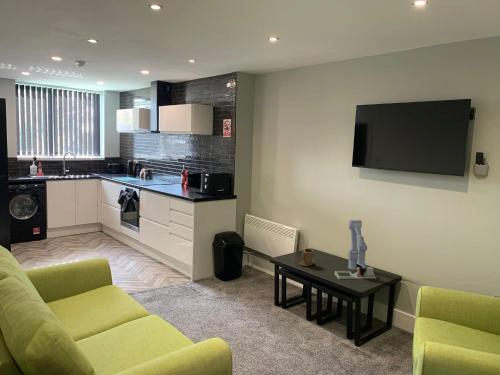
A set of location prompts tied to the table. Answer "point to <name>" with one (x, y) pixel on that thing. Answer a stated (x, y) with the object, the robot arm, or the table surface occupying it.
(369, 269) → the block
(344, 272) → the tray
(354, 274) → the fuse block
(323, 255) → the table surface
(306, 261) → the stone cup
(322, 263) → the table surface
